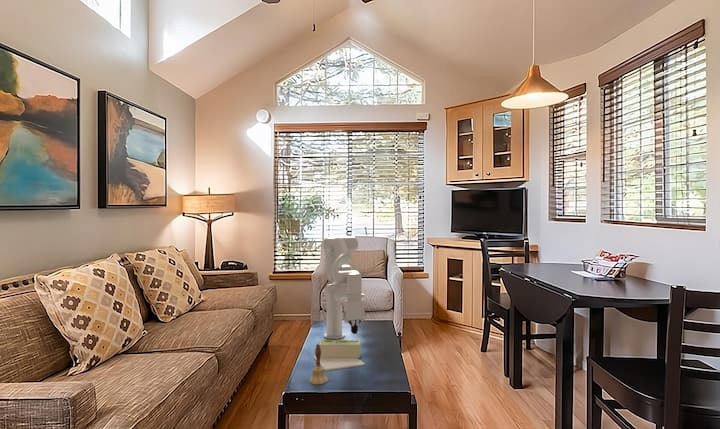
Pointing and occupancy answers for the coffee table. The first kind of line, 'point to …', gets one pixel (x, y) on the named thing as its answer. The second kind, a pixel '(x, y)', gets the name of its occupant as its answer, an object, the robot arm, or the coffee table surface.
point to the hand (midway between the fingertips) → (354, 333)
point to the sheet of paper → (338, 362)
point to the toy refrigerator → (340, 348)
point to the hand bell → (318, 369)
